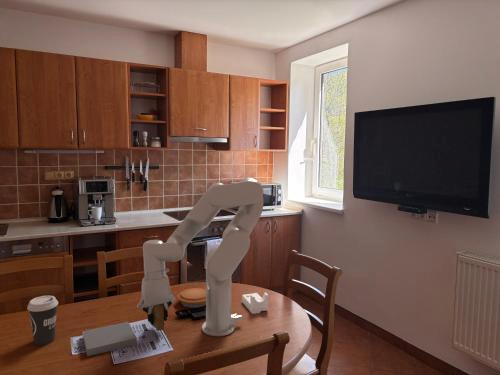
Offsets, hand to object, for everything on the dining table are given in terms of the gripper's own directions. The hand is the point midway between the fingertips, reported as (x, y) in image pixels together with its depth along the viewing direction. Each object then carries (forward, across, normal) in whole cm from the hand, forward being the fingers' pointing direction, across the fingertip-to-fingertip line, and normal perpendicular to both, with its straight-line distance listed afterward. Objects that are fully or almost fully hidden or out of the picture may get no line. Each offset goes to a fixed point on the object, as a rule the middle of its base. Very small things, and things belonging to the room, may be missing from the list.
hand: (158, 320), depth 140 cm
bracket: (+7, -43, -3) cm, 44 cm away
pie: (+5, -22, -19) cm, 29 cm away
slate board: (+4, +17, -2) cm, 18 cm away
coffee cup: (+3, +37, -12) cm, 39 cm away
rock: (+2, 0, 0) cm, 2 cm away
